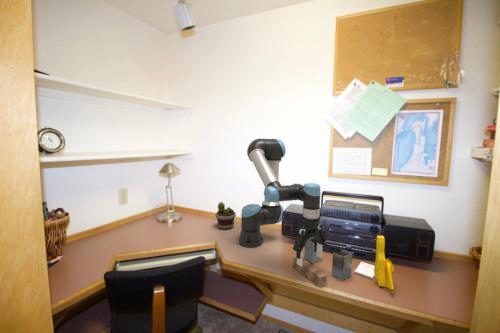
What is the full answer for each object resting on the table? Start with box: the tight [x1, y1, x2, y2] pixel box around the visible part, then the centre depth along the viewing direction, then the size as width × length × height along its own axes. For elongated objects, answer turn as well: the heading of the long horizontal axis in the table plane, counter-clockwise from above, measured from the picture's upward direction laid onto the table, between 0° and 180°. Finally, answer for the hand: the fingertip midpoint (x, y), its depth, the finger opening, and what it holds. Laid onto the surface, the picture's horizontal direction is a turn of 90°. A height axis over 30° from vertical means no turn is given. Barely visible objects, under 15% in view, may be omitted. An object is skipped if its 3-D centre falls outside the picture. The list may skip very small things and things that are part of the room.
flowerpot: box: [215, 201, 237, 230], centre depth 171 cm, size 14×15×20 cm
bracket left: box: [303, 237, 322, 265], centre depth 126 cm, size 6×7×11 cm
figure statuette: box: [374, 235, 395, 290], centre depth 105 cm, size 18×8×22 cm, turn 161°
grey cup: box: [331, 249, 354, 281], centre depth 111 cm, size 6×7×11 cm
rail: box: [292, 256, 328, 288], centre depth 112 cm, size 19×4×5 cm, turn 26°
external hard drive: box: [353, 261, 375, 281], centre depth 116 cm, size 2×8×12 cm
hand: (309, 260), depth 111 cm, fingers open, 13 cm apart
